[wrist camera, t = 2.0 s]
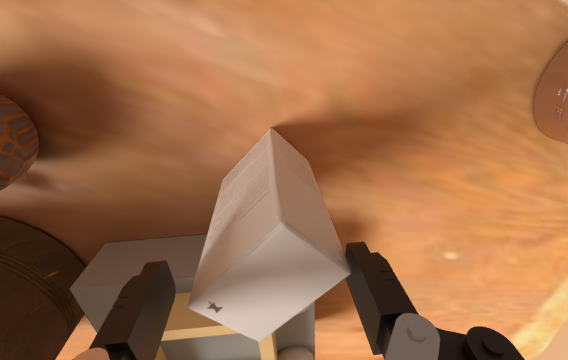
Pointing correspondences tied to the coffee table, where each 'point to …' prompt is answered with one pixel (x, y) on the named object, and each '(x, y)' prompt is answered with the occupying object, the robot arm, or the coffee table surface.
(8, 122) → the vase
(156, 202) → the coffee table surface
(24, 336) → the wooden container
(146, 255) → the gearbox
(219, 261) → the skincare box
